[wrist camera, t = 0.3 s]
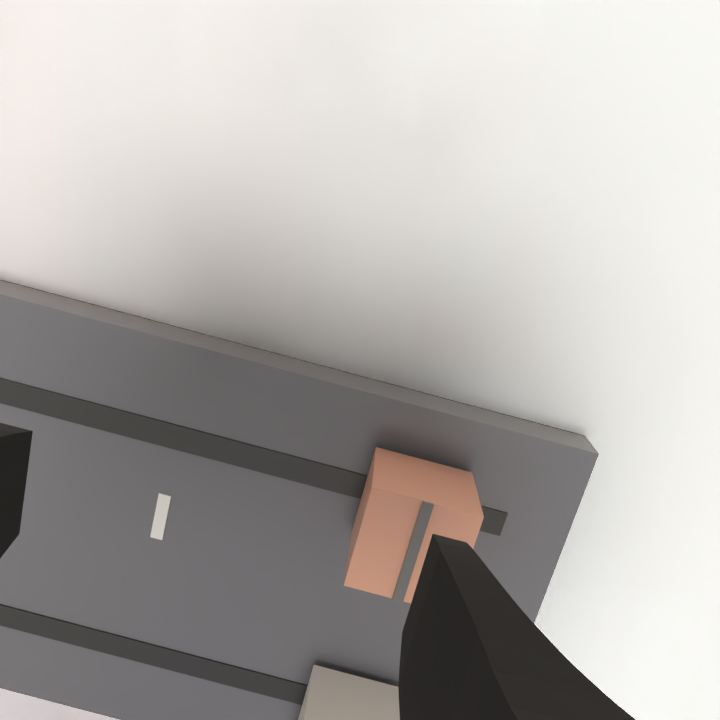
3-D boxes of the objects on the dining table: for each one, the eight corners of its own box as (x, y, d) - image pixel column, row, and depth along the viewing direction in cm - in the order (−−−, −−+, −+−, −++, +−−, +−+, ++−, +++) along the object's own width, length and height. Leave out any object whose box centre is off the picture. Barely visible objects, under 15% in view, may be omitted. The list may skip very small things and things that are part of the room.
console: (459, 773, 24) (462, 811, 23) (-213, 596, 24) (-254, 622, 23) (584, 436, 21) (599, 454, 19) (-200, 226, 21) (-247, 229, 19)
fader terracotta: (444, 558, 20) (451, 616, 17) (351, 533, 20) (343, 587, 17) (472, 472, 20) (484, 518, 17) (375, 446, 20) (372, 489, 17)
